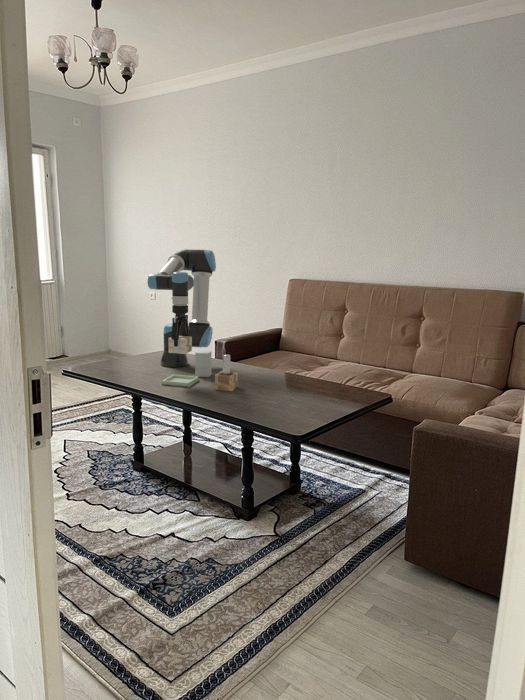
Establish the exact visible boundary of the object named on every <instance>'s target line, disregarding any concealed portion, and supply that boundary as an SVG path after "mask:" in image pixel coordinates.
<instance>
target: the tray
mask: <svg viewBox="0 0 525 700" xmlns="http://www.w3.org/2000/svg"><path fill="white" fill-rule="evenodd" d="M199 379H200V378H199V377H196V375H194V376H193V375H182V374H171V375H170V376H168V377H165V379H162V380H161V386H170V387H171V386H172V387H181V388H189V387H191V386H192V385H194V384H197V382H199Z"/></svg>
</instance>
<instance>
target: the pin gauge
mask: <svg viewBox="0 0 525 700" xmlns="http://www.w3.org/2000/svg"><path fill="white" fill-rule="evenodd" d="M222 371H223V375H228V376H230V372H231V354H222Z"/></svg>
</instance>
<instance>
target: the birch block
mask: <svg viewBox="0 0 525 700" xmlns="http://www.w3.org/2000/svg"><path fill="white" fill-rule="evenodd" d="M178 340H180V353H178V354H186V355H187V354H188V353H190V352H192V350H193V347H192V337H188V336H179V339H178ZM168 341H169V353H174V340H172V339H171V338H168Z"/></svg>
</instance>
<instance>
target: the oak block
mask: <svg viewBox="0 0 525 700" xmlns="http://www.w3.org/2000/svg"><path fill="white" fill-rule="evenodd" d="M238 374H239V373H238V372H236V371H230V376H228V375H223V370H220V371H218V372H217V373H216V374H214V390H215V391H216V390H218V391H225V392H228V391H229V392H233V391H234V390H235V389H236V388H238V379H239V378H238Z"/></svg>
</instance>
